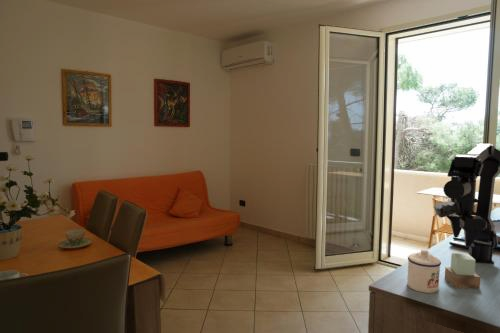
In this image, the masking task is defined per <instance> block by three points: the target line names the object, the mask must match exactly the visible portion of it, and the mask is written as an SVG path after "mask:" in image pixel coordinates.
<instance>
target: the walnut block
mask: <svg viewBox="0 0 500 333" xmlns="http://www.w3.org/2000/svg"><path fill="white" fill-rule="evenodd" d="M444 279H445V280H446V281H447V282H448V283H450V284H451V285H452V286H453V287H454V288H455V289H477V290H479V289H480V288H481V276H480V275H478V274H477V273H476V272H475V273H474V276H471V275H458V274H456V273H455V272H454V271H453V270H452V269H451V266H449V267H446V266H445V270H444Z"/></svg>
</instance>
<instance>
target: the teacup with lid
mask: <svg viewBox="0 0 500 333" xmlns="http://www.w3.org/2000/svg"><path fill="white" fill-rule="evenodd" d="M407 260H408V264H407V265H408V266H407V282H406V284H407V286H408V288H410V289H412V290H414V291H417V292H420V293H425V294H426V293H427V294H433V293H436V292H438V291H439V286H440V285H439V284H440V272H441V270H440V268H441V265H442V262H441V259H439V258H438V257H437V256H434V255H433V254H431V253H429V250H427V249H421V250H420V251H419V252H415V253H410V254H409V255H408V256H407Z"/></svg>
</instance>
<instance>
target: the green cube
mask: <svg viewBox="0 0 500 333" xmlns="http://www.w3.org/2000/svg"><path fill="white" fill-rule="evenodd" d="M450 259H451V260H450V267H451V269H452V270H453V271H454V272H455V273H456V274H458V275H471V276H474V273H476V272H475V270H476V262H475V261H476V260H475V259H474V258H473V257H471V256H470V255H469V253H458V252H457V253H456V252H451V257H450Z"/></svg>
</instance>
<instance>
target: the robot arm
mask: <svg viewBox="0 0 500 333" xmlns="http://www.w3.org/2000/svg"><path fill="white" fill-rule="evenodd" d="M449 166H450V167H449V169H448V172H447V177H450V180H449V181H447V182H446V183H445V184H444V186H443V189H442V190H443V193H444V195H445V196H446V197H447V198H449V199H450V200H448V201H444V202H443V201H442V202H440V203H436V204H434V205H433V209H434V212H435V215H436V216H438V217H439V218H445V217H446V218H447V219H448V220H449V223H450V225H451V230H452V235H453V237H454V238H458V237H459V236H460V233H461V231H462V230H463V235H464V243H465V244H464V245H465V247H466V248H467V247H468V254H469V255H470V256H471V257H473V258H474V259H475V260H476V261H475V263H484V264H486V263H487V264H495V261H494V260H493V252H494V248H498V247H499V246H498V245H499V240H498V235H497V232H496V230H495V229H496V228H495V227H496V226H495V224H494V222H493V221H492V219H491V217H492V216H491V215H492V206H493V199H494V190H495V183H496V182H495V181H496V178H498V176H499V175H500V149H498V148H496V147H495V144H492V143H476V144H475V147H474V148H472V149H471V150H470V151H468V152H467V153H458V154H456V155H455V156H454V157H453V158H452V160H451V163H450V165H449ZM478 177H479V184H478V194H477V198H476V188H477V179H478ZM475 203H476V205H475ZM475 206H476V208H475ZM475 209H476V210H475Z"/></svg>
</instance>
